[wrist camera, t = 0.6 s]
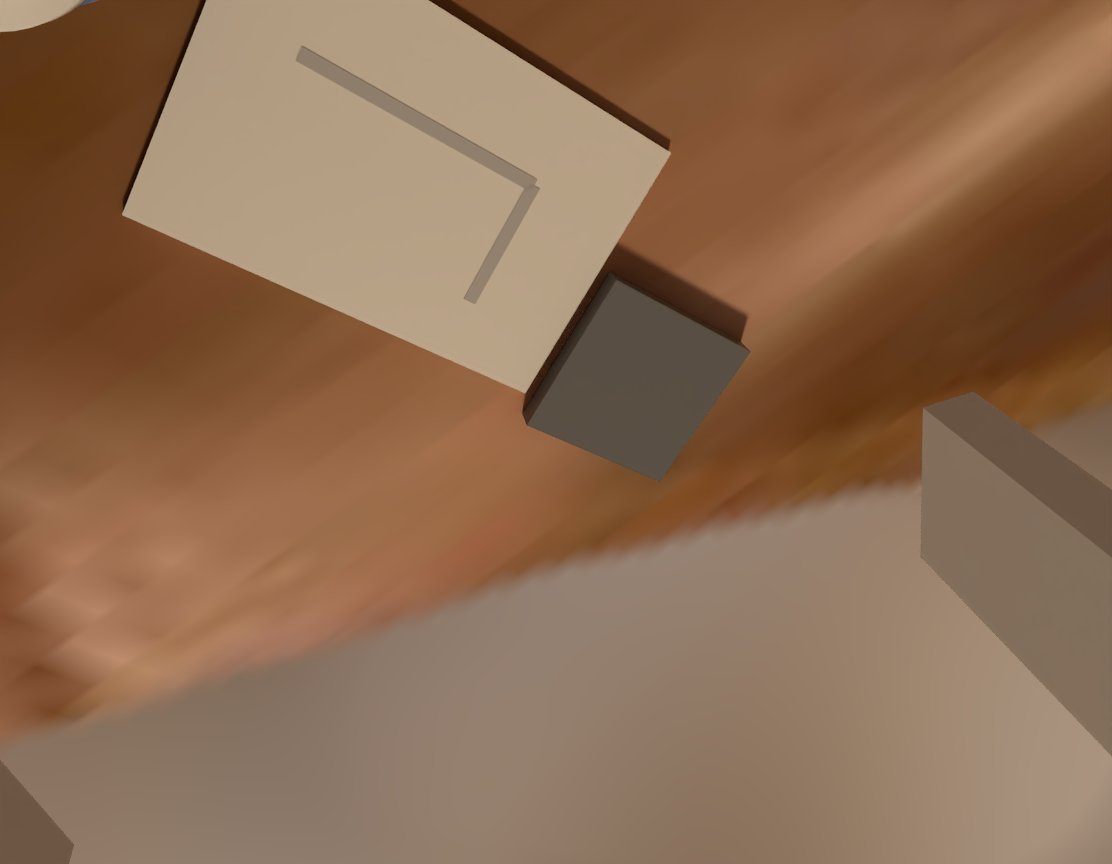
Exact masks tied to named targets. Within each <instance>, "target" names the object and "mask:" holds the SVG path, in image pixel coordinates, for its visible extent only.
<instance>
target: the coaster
mask: <svg viewBox="0 0 1112 864" xmlns="http://www.w3.org/2000/svg"><path fill="white" fill-rule="evenodd" d="M749 353H750V351H749V350H748V349H747V348H746V347H745V346H744V345H743V344H742V343H741V342H740V341H738V340H736V339H734V338H732V337H730V336H729V335H727V334H725V333H723V332H721V331H719V330H717V329H716V328H714V327H712V326H710V325H708V324H706V323H704V322H703V321H701V320H699V319H697V318H695V317H693V316H691V315H689V314H688V313H686V312H684V311H682V310H680V309H678V308H676V307H675V306H673V305H671V304H669V303H667V302H665V301H663V300H662V299H660V298H658V297H656V296H654V295H652V294H650V293H648V292H647V291H645V290H643V289H641V288H639V287H637V286H635V285H634V284H632V283H630V282H628V281H626V280H624V279H622V278H621V277H619V276H617V275H615V274H613V273H611V272H609V273H608V275H607V276H606V278H605V280H604V281H603V283H602V285H601V286H600V288H599V289H598V291H597V293H596V294H595V296H594V298H593V299H592V301H591V303H590V304H589V306H588V307H587V309H586V311H585V312H584V314H583V316H582V317H581V319H580V321H579V322H578V324H577V325H576V327H575V329H574V330H573V332H572V334H571V335H570V337H569V339H568V340H567V342H566V343H565V345H564V347H563V348H562V350H561V352H560V353H559V355H558V356H557V358H556V360H555V361H554V363H553V365H552V366H551V368H550V370H549V371H548V373H547V374H546V376H545V378H544V379H543V381H542V383H541V384H540V386H539V388H538V389H537V391H536V392H535V394H534V396H533V397H532V399H531V401H530V402H529V404H528V406H527V407H526V409H525V410H524V412H523V417H524V419H525V422H526V424H527V425H528V426H530V427H532V428H535V429H537V430H539V431H542V432H544V433H546V434H549V435H551V436H553V437H556V438H558V439H560V440H563V441H565V442H568V443H570V444H572V445H575V446H577V447H579V448H582V449H584V450H586V451H589V452H591V453H593V454H596V455H598V456H600V457H603V458H605V459H608V460H610V461H612V462H615V463H617V464H619V465H622V466H624V467H626V468H629V469H631V470H633V471H636V472H638V473H640V474H643V475H645V476H648V477H650V478H652V479H655V480H657V481H659V482H660V481H661V480H662V478H663V477H664V475H665V474H666V472H667V471H668V470H669V468H670V467H671V465H672V464H673V462H674V461H675V459H676V458H677V457H678V455H679V454H680V452H681V451H682V449H683V448H684V447H685V445H686V444H687V442H688V441H689V439H690V438H691V437H692V435H693V434H694V432H695V431H696V429H697V428H698V426H699V425H700V424H701V422H702V421H703V419H704V418H705V416H706V415H707V414H708V412H709V411H710V409H711V408H712V406H713V405H714V403H715V402H716V401H717V399H718V398H719V396H720V395H721V393H722V392H723V391H724V389H725V388H726V386H727V385H728V383H729V382H730V380H731V379H732V378H733V376H734V375H735V373H736V372H737V370H738V369H739V368H740V366H741V365H742V363H743V362H744V360H745V359H746V358H747V356H748V355H749Z"/></svg>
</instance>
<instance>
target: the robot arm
mask: <svg viewBox="0 0 1112 864" xmlns="http://www.w3.org/2000/svg"><path fill="white" fill-rule="evenodd" d="M921 507H922V508H921V558H922V559H923V560H924V561H925V562H926V563H927V564H928V565H929V566H930V567H931V568H932V569H933V570H934V571H935V572H936V573H937V574H938V575H939V576H940V577H941V579H942V580H943V581H944V582H945V583H946V584H947V585H948V586H949V587H950V588H951V589H952V590H953V591H954V592H955V593H956V594H957V595H958V596H959V597H960V598H961V599H962V600H963V601H964V603H965V604H967V606H968V607H969V608H970V609H971V610H972V611H973V612H974V613H975V614H976V615H977V616H978V617H979V618H980V619H981V620H982V621H983V622H984V623H985V624H986V625H987V627H989V629H990V630H991V631H992V632H993V633H994V634H995V635H996V636H997V637H998V638H999V639H1000V640H1001V641H1002V642H1003V643H1004V644H1005V645H1006V646H1007V647H1008V648H1009V649H1010V650H1011V651H1012V653H1013V654H1014V655H1015V656H1016V657H1017V658H1018V659H1019V660H1020V661H1021V662H1022V663H1023V664H1024V665H1025V666H1026V667H1027V668H1028V669H1029V670H1030V671H1031V672H1032V673H1033V674H1034V675H1035V676H1036V678H1037V679H1039V681H1040V682H1041V683H1042V684H1043V685H1044V686H1045V687H1046V688H1047V689H1048V690H1049V691H1050V692H1051V693H1052V694H1053V695H1054V696H1055V697H1056V698H1057V699H1058V701H1059V702H1060V703H1061V704H1062V705H1063V706H1064V707H1065V708H1066V709H1067V710H1068V711H1069V712H1070V713H1071V714H1072V715H1073V716H1074V717H1075V718H1076V719H1077V720H1078V721H1079V722H1080V724H1082V726H1084V727H1085V729H1086V730H1087V731H1088V732H1089V733H1090V734H1091V735H1092V736H1093V737H1094V738H1095V739H1096V740H1097V741H1098V742H1099V743H1100V744H1101V745H1102V746H1103V747H1104V749H1106V751H1107V752H1108V753H1109V754H1110V755H1111V756H1112V490H1111V489H1110V488H1109V487H1107V486H1106V485H1104V484H1103V483H1102V482H1100V481H1099V480H1097V479H1096V478H1094V477H1093V476H1092V475H1090V474H1089V473H1087V472H1086V471H1084V470H1083V469H1082V468H1080V467H1079V466H1077V465H1076V464H1075V463H1073V462H1072V461H1070V460H1069V459H1068V458H1066V457H1065V456H1063V455H1062V454H1061V453H1059V452H1058V451H1056V450H1055V449H1054V448H1052V447H1051V446H1049V445H1048V444H1046V443H1045V442H1044V441H1042V440H1041V439H1039V438H1038V437H1037V436H1035V435H1034V434H1032V433H1031V432H1030V431H1028V430H1027V429H1025V428H1024V427H1023V426H1021V425H1020V424H1018V423H1017V422H1015V421H1014V420H1013V419H1011V418H1010V417H1008V416H1007V415H1006V414H1004V413H1003V412H1001V411H1000V410H999V409H997V408H996V407H994V406H993V405H992V404H990V403H989V402H987V401H986V400H984V399H983V398H982V397H980V396H979V395H977V394H976V393H975V392H971V393H968V394H965V395H962V396H959V397H955V398H952V399H949V400H946V401H943V402H940V403H937V404H934V405H931V406H928V407H924V408H923V444H922V502H921ZM73 846H74V844H73V843H72V842H71V841H70V839H69V838H68V837H67V836H66V835H65V834H64V832H63V831H62V830H61V829H60V828H59V827H58V826H57V825H56V823H55V822H54V821H53V820H52V819H51V818H50V816H49V815H48V814H47V813H46V812H45V811H44V810H43V808H42V807H41V806H40V805H39V804H38V803H37V802H36V800H35V799H34V798H33V797H32V796H31V795H30V794H29V792H28V791H27V790H26V789H25V788H24V787H23V786H22V784H21V783H20V782H19V781H18V780H17V779H16V777H15V776H14V775H13V774H12V773H11V772H10V771H9V769H8V768H7V767H6V766H5V765H4V764H3V763H2V761H1V760H0V864H69V861H70V858H71V854H72V850H73Z"/></svg>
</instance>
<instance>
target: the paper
mask: <svg viewBox="0 0 1112 864" xmlns="http://www.w3.org/2000/svg"><path fill="white" fill-rule="evenodd" d="M670 154H671V153H670V152H669V151H667V150H666V149H664V148H662V147H661V146H659V145H658V144H656V143H654V142H653V141H651V140H650V139H648V138H646V137H645V136H643V135H642V134H640V133H639V132H637V131H635V130H634V129H632V128H631V127H629V126H627V125H626V124H624V123H623V122H621V121H619V120H618V119H616V118H615V117H613V116H612V115H610V114H608V113H607V112H605V111H604V110H602V109H600V108H599V107H597V106H596V105H594V104H593V103H591V102H589V101H588V100H586V99H585V98H583V97H581V96H580V95H578V94H577V93H575V92H573V91H572V90H570V89H569V88H567V87H566V86H564V85H562V84H561V83H559V82H558V81H556V80H554V79H553V78H551V77H550V76H548V75H546V74H545V73H543V72H542V71H540V70H539V69H537V68H535V67H534V66H532V65H531V64H529V63H527V62H526V61H524V60H523V59H521V58H519V57H518V56H516V55H515V54H513V53H512V52H510V51H508V50H507V49H505V48H504V47H502V46H500V45H499V44H497V43H496V42H494V41H492V40H491V39H489V38H488V37H486V36H485V35H483V34H481V33H480V32H478V31H477V30H475V29H473V28H472V27H470V26H469V25H467V24H465V23H464V22H462V21H461V20H459V19H458V18H456V17H454V16H453V15H451V14H450V13H448V12H446V11H445V10H443V9H442V8H440V7H438V6H437V5H435V4H434V3H432V2H431V1H429V0H206V2H205V5H204V8H203V10H202V13H201V15H200V18H199V20H198V23H197V25H196V28H195V30H194V33H193V35H192V38H191V41H190V43H189V46H188V48H187V51H186V53H185V56H184V58H183V61H182V63H181V66H180V69H179V71H178V74H177V76H176V79H175V81H174V84H173V86H172V89H171V91H170V94H169V97H168V99H167V102H166V104H165V107H164V109H163V112H162V114H161V117H160V119H159V122H158V125H157V127H156V130H155V132H154V135H153V137H152V140H151V142H150V145H149V147H148V150H147V152H146V155H145V158H144V160H143V163H142V165H141V168H140V170H139V173H138V175H137V178H136V180H135V183H134V186H133V188H132V191H131V193H130V196H129V198H128V201H127V203H126V206H125V208H124V211H123V214H122V215H123V216H126V217H128V218H130V219H132V220H135V221H137V222H139V223H141V224H144V225H146V226H148V227H150V228H153V229H155V230H157V231H159V232H162V233H164V234H166V235H168V236H171V237H173V238H175V239H178V240H180V241H182V242H184V243H187V244H189V245H191V246H193V247H196V248H198V249H200V250H202V251H205V252H207V253H209V254H211V255H214V256H216V257H218V258H220V259H223V260H225V261H227V262H229V263H232V264H234V265H236V266H239V267H241V268H243V269H245V270H248V271H250V272H252V273H254V274H257V275H259V276H261V277H263V278H266V279H268V280H270V281H272V282H275V283H277V284H279V285H281V286H284V287H286V288H288V289H291V290H293V291H295V292H297V293H300V294H302V295H304V296H306V297H309V298H311V299H313V300H315V301H318V302H320V303H322V304H324V305H327V306H329V307H331V308H333V309H336V310H338V311H340V312H343V313H345V314H347V315H349V316H352V317H354V318H356V319H358V320H361V321H363V322H365V323H367V324H370V325H372V326H374V327H376V328H379V329H381V330H383V331H385V332H388V333H390V334H392V335H394V336H397V337H399V338H401V339H404V340H406V341H408V342H410V343H413V344H415V345H417V346H419V347H422V348H424V349H426V350H428V351H431V352H433V353H435V354H437V355H440V356H442V357H444V358H446V359H449V360H451V361H453V362H456V363H458V364H460V365H462V366H465V367H467V368H469V369H471V370H474V371H476V372H478V373H480V374H483V375H485V376H487V377H489V378H492V379H494V380H496V381H498V382H501V383H503V384H505V385H508V386H510V387H512V388H514V389H517V390H519V391H521V392H523V393H526V392H527V390H528V388H529V387H530V385H531V383H532V382H533V380H534V378H535V377H536V375H537V373H538V372H539V370H540V368H541V367H542V365H543V364H544V362H545V360H546V359H547V357H548V355H549V354H550V352H551V350H552V349H553V347H554V345H555V344H556V342H557V340H558V339H559V337H560V336H561V334H562V332H563V331H564V329H565V327H566V326H567V324H568V322H569V321H570V319H571V317H572V316H573V314H574V312H575V311H576V309H577V308H578V306H579V304H580V303H581V301H582V299H583V298H584V296H585V294H586V293H587V291H588V289H589V288H590V286H591V285H592V283H593V281H594V280H595V278H596V276H597V275H598V273H599V271H600V270H601V268H602V266H603V265H604V263H605V261H606V260H607V258H608V257H609V255H610V253H611V252H612V250H613V248H614V247H615V245H616V243H617V242H618V240H619V238H620V237H621V235H622V233H623V232H624V230H625V229H626V227H627V225H628V224H629V222H630V220H631V219H632V217H633V215H634V214H635V212H636V210H637V209H638V207H639V205H640V204H641V202H642V201H643V199H644V197H645V196H646V194H647V192H648V191H649V189H650V187H651V186H652V184H653V182H654V181H655V179H656V178H657V176H658V174H659V173H660V171H661V169H662V168H663V166H664V164H665V163H666V161H667V159H668V158H669V156H670Z"/></svg>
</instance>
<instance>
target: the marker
mask: <svg viewBox="0 0 1112 864" xmlns="http://www.w3.org/2000/svg"><path fill="white" fill-rule="evenodd" d="M94 1H98V0H0V32H5V31H17V30H22V29H27V28H31V27H34V26H37V25H40V24H43V23H46V22H49V21H52V20H55V19H57V18H60V17H62V16H63V15H65V14H67V13H69V12H71V11H72V10H73V9H75V8H76V7H78V6H81V5H84V4H88V3H91V2H94Z"/></svg>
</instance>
